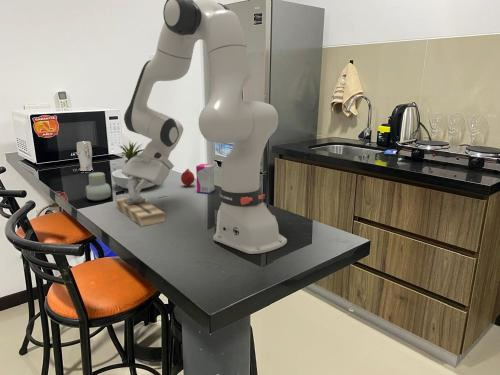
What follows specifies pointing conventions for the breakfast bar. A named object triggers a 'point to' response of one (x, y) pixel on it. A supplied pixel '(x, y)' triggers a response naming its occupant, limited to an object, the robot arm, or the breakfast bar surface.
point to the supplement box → (205, 178)
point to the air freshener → (97, 187)
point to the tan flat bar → (141, 212)
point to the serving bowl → (124, 179)
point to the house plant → (130, 151)
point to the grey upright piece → (133, 193)
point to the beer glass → (85, 155)
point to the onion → (187, 177)
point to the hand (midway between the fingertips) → (132, 189)
